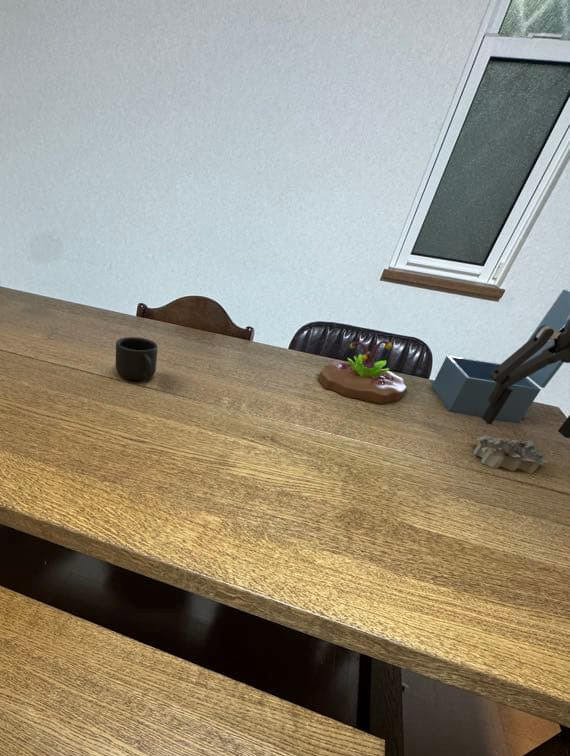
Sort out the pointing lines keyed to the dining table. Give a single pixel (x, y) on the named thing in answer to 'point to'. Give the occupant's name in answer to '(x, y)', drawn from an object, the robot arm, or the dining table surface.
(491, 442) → the egg carton
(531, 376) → the lid
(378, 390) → the plant
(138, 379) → the mug
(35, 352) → the dining table surface
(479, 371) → the chest
